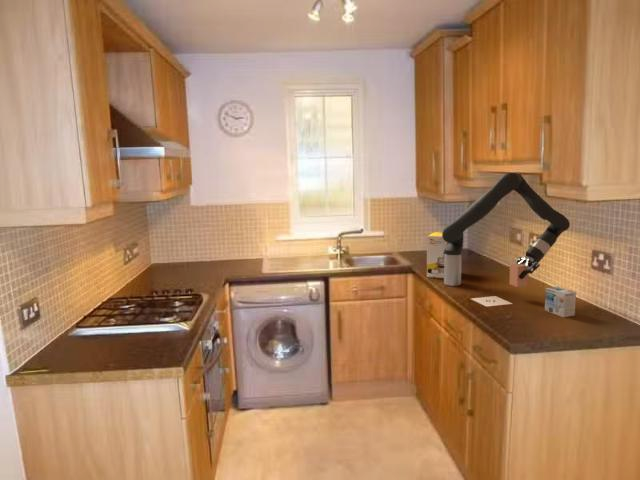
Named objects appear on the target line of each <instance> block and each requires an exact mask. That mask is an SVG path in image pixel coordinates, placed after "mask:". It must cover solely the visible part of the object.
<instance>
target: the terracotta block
mask: <svg viewBox="0 0 640 480" xmlns="http://www.w3.org/2000/svg"><path fill="white" fill-rule="evenodd" d="M528 266H529V265H528ZM525 268H526V266H525V265H524V264H519V263H517V264H514V263H510V264H509V285H511V286H514V287H516V288H521V287H529V276H530V275H529V274H530V273H529V274H527V275H526V276H525V277H524V278H523V279H520V278H519V275H520V274H521V273H522V272H523V271H524V269H525Z"/></svg>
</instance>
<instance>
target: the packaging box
mask: <svg viewBox="0 0 640 480" xmlns="http://www.w3.org/2000/svg"><path fill="white" fill-rule="evenodd" d="M442 232H443V231H442ZM442 232H441V231H440V232H436V231H435V232H434V231H433V232H432V233H429V234H428V235H427V236H426V277H427V278H434V277H435V279H444V249H445V248H446V245H447V242H446V241H444V239H443V237H442Z"/></svg>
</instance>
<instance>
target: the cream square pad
mask: <svg viewBox="0 0 640 480" xmlns="http://www.w3.org/2000/svg"><path fill="white" fill-rule="evenodd" d="M470 300H472V301H474V302H476V303H478V304H480V305H482V306H485V307H495V306H503V305H513V303H512V302H510V301H508V300H505V299H503V298H501V297H499V296H496V295H493V296H482V297H474V298H473V297H472V298H470Z"/></svg>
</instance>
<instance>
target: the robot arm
mask: <svg viewBox="0 0 640 480" xmlns="http://www.w3.org/2000/svg"><path fill="white" fill-rule="evenodd" d="M513 191H514V192H516V193H517V194H518V195H520V197H522V199H523V200H524V201H525V202H526V204H527V206H528V207H529V208H530V209H531V210H532V211H533V213H535V214H536V215H537V217H539V218H540V219H541V220H544V221H547V222H549V223H550V224H549V225H548V226H547V227H546V228H545V231H544V232H543V233H542V234H541V235H540V236H539V237H538V239H536V240H535V241H534V242H533V243H532V245H531V246H530V247H529V248H527V251H525V256H524V257H521V256H519V257H517V258H516V260H515V262H514V263H513V264H517V263H519V264H524V265H525V266H526V268H525V269H524V271H523V272H522V273H521V274H520V275H519V278H520V279H523V278H524V277H525V276H526V275H527V274H531V275H532V274H533V273H534V272H535V271H536V270H537V269H538V268H539V267H540V266H541V265H540V262H541V261H542V259H543V258H544V257H545V256H546V255H547V254H548V252H550V250H551V248H552V247H553V246H554V245H555V243H556V242H557V240H558V238H559V237H560V236H561V234H563V233H564V232H565V231H568V229H569V228H570V226H571V224H570V221H569V219H568V218H567V216H565V215H564V214H562V213H561V212H559V211H557V210H556V209H554V208H553V207H552V206H551V205H550V204H549V203H548V202H547V201H546V200H545V199H543V198H542V197H541V196H540V195H539V194H538V193H537V191H535V190H534V189H533V188H532V187H531V185H530V184H529V183H528V182H527V180H526V179H525V178H524V177H523V175H522V174H521V173H520V174H517V173H507V172H505V173H504V174H503V175H502V176H501V177H500V178H499V180H497V182H496V183H495V184H494V185H493V186H492V187H491V188H490V189H489V190H488V191H486V192H485V193H483V194H482V195H481V196H479V197H478V198H477V199H476V200H475V201H474V202H473V203H471V204H470V205H469V207H467V208H466V209H465V211H464V212H463V213H461V215H460V216H459V217H457V219H455V220H454V221H453V222H452V223H450V224H449V225H447V226H446V227H444V229H443V231H442V237H443V239H444V241H446V242H447V245H446V248H445V249H444V278H443V284H444V285H446V286H452V287H455V286H460V285H462V250H463V248H464V232H465V231H466V230H468V228H470V227H471V226H474V225H475V224H476V223H479V221H481V220H482V219H483V218H485V217H486V216H487V215H488V214H489V213H491V211H492V210H493V209H494V208H495V207H496V206H497V205H498V203H499V202H500V201H502V199H503V198H504V197H506V196H507V195H509V193H512V192H513ZM528 265H529V266H528Z"/></svg>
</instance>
